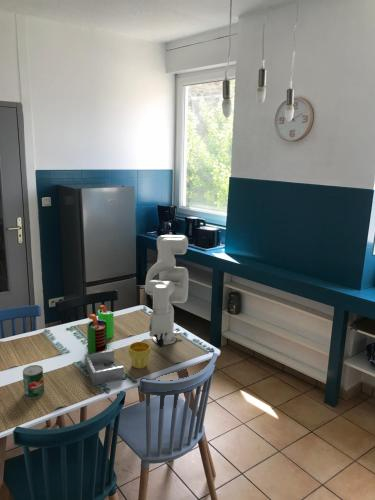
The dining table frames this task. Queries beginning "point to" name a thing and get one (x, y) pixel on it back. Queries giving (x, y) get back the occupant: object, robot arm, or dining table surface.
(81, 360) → the dining table surface
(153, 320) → the robot arm
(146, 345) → the plant pot
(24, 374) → the canned tomato
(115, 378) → the grey open box
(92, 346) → the motor
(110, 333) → the green-shelled ribbed roller
